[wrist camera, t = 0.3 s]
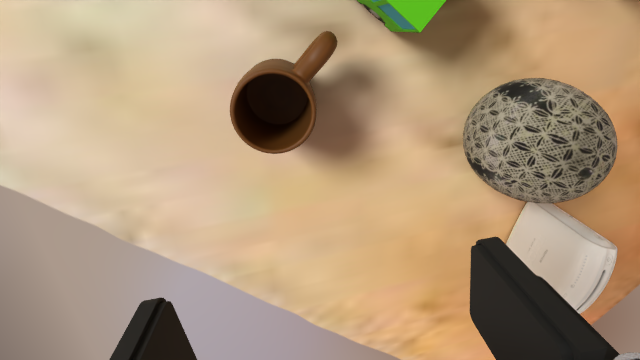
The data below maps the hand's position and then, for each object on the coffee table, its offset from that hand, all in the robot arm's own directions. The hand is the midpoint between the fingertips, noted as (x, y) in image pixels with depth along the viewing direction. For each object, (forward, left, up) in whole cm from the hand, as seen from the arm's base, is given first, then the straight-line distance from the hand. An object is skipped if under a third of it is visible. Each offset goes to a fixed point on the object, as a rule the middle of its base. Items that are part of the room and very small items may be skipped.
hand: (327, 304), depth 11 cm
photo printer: (+21, +28, -31) cm, 47 cm away
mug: (-3, -1, -31) cm, 31 cm away
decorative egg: (+5, +22, -31) cm, 38 cm away
